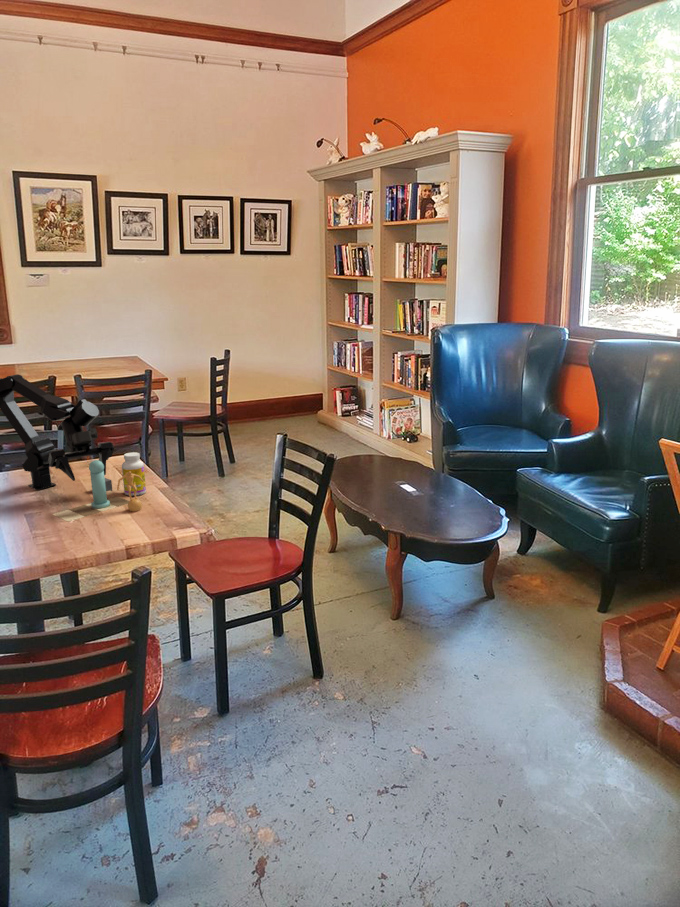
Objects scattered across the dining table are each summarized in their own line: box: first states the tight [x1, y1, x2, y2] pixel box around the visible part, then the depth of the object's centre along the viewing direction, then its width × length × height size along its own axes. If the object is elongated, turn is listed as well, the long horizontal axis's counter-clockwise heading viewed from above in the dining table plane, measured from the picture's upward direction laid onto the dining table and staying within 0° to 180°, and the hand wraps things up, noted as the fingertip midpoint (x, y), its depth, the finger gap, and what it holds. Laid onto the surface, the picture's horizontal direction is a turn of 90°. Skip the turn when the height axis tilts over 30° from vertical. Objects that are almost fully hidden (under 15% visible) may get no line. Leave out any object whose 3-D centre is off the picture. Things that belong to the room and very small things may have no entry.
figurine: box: [116, 471, 146, 513], centre depth 199 cm, size 8×6×12 cm
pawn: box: [88, 459, 110, 510], centre depth 201 cm, size 5×5×14 cm
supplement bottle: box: [121, 451, 147, 497], centre depth 215 cm, size 7×7×13 cm
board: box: [51, 495, 130, 523], centre depth 202 cm, size 10×21×1 cm, turn 139°
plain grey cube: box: [105, 477, 113, 492], centre depth 217 cm, size 4×4×4 cm
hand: (89, 477), depth 207 cm, fingers open, 9 cm apart
